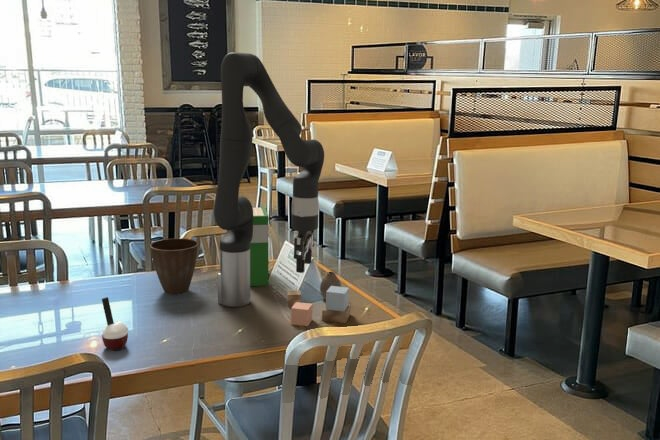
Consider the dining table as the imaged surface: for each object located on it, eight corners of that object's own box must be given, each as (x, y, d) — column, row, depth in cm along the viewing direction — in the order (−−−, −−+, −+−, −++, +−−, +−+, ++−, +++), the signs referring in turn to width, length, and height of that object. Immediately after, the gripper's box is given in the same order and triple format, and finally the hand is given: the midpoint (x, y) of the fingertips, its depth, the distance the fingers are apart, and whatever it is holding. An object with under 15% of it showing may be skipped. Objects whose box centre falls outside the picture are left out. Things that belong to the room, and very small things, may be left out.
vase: (339, 303, 195) (339, 276, 194) (317, 301, 197) (318, 275, 195) (343, 296, 202) (343, 270, 200) (322, 294, 203) (322, 268, 201)
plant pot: (142, 294, 199) (139, 246, 195) (170, 281, 212) (169, 236, 209) (181, 302, 193) (179, 252, 190) (208, 288, 207) (207, 241, 203)
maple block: (287, 307, 192) (287, 294, 191) (286, 302, 195) (286, 290, 195) (300, 306, 192) (300, 294, 191) (299, 302, 196) (299, 290, 195)
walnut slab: (322, 321, 182) (322, 310, 181) (327, 313, 188) (327, 302, 188) (345, 324, 180) (345, 312, 179) (350, 315, 187) (350, 304, 186)
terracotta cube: (291, 324, 178) (291, 308, 177) (295, 318, 183) (295, 302, 182) (307, 326, 177) (308, 309, 176) (312, 319, 182) (312, 303, 181)
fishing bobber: (129, 353, 158) (129, 309, 155) (103, 356, 156) (102, 311, 153) (126, 337, 167) (125, 295, 164) (101, 339, 164) (100, 297, 161)
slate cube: (325, 309, 181) (326, 291, 180) (330, 303, 187) (331, 285, 185) (344, 311, 180) (344, 293, 179) (348, 305, 185) (349, 287, 184)
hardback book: (243, 270, 227) (242, 205, 221) (263, 269, 228) (263, 205, 223) (246, 286, 210) (245, 216, 204) (268, 285, 211) (268, 216, 206)
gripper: (298, 206, 181) (297, 259, 184) (285, 216, 167) (284, 274, 171) (323, 207, 179) (322, 261, 183) (312, 218, 166) (311, 276, 169)
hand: (303, 267), depth 177 cm, fingers open, 8 cm apart
